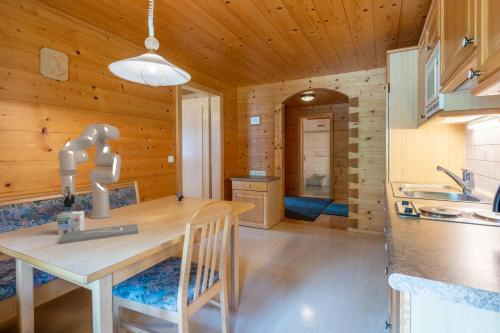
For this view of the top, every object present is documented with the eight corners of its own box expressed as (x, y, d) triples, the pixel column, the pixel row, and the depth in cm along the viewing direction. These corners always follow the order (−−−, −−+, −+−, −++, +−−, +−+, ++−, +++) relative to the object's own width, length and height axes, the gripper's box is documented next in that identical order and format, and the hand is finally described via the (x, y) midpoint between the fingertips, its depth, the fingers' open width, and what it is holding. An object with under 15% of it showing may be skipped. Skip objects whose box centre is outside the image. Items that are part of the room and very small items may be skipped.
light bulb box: (57, 235, 137) (56, 214, 136) (63, 231, 144) (62, 211, 143) (81, 233, 140) (79, 213, 139) (85, 229, 146) (84, 210, 146)
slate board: (65, 235, 136) (65, 232, 136) (136, 226, 151) (136, 223, 151) (60, 244, 124) (59, 240, 124) (138, 233, 139) (138, 230, 139)
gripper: (63, 172, 146) (64, 203, 146) (56, 174, 130) (57, 209, 131) (79, 172, 149) (80, 202, 150) (74, 174, 133) (75, 207, 134)
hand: (69, 205), depth 140 cm, fingers open, 9 cm apart
